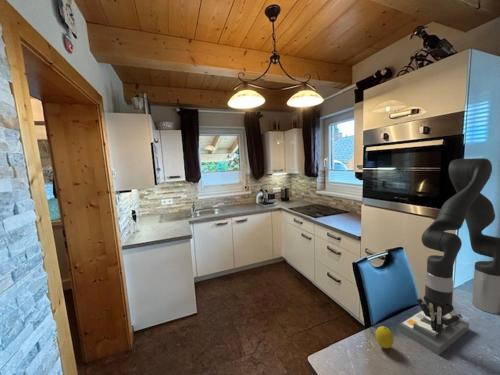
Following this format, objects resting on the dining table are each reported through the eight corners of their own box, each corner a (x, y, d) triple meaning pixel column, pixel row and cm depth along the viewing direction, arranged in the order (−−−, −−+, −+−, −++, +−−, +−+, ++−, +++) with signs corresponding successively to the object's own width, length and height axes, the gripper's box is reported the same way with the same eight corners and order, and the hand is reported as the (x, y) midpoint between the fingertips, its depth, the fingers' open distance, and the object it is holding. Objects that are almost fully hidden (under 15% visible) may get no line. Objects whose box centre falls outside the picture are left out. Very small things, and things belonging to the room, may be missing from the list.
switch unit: (429, 311, 98) (430, 300, 97) (468, 330, 86) (469, 318, 86) (398, 330, 87) (399, 319, 87) (438, 355, 75) (439, 341, 75)
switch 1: (421, 323, 86) (421, 320, 86) (440, 331, 80) (439, 328, 80) (416, 326, 84) (416, 324, 84) (435, 335, 79) (434, 332, 79)
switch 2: (439, 308, 92) (440, 306, 91) (455, 321, 87) (457, 319, 87) (434, 311, 90) (435, 309, 90) (451, 324, 86) (453, 322, 85)
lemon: (395, 355, 76) (396, 333, 75) (378, 352, 77) (379, 331, 77) (389, 342, 81) (389, 322, 81) (373, 340, 83) (373, 320, 82)
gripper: (468, 291, 74) (465, 339, 75) (422, 275, 86) (421, 316, 87) (458, 298, 71) (455, 348, 72) (412, 280, 82) (410, 323, 84)
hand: (436, 330), depth 80 cm, fingers closed
